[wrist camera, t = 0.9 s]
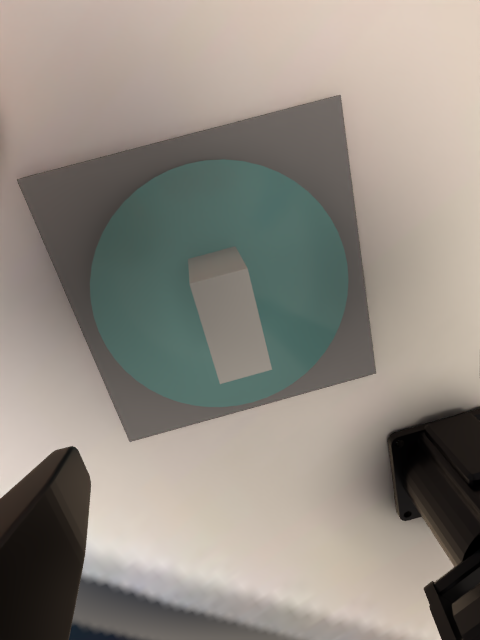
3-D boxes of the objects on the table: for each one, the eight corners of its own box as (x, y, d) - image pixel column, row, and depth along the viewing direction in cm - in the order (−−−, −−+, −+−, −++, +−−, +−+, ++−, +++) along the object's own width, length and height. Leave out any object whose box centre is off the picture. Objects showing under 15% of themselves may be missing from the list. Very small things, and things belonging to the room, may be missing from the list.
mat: (372, 369, 22) (376, 373, 22) (130, 436, 22) (129, 441, 21) (337, 95, 17) (340, 94, 17) (20, 178, 17) (16, 179, 16)
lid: (355, 361, 21) (396, 412, 17) (142, 421, 21) (133, 487, 17) (319, 128, 17) (363, 121, 13) (52, 199, 17) (10, 215, 13)
